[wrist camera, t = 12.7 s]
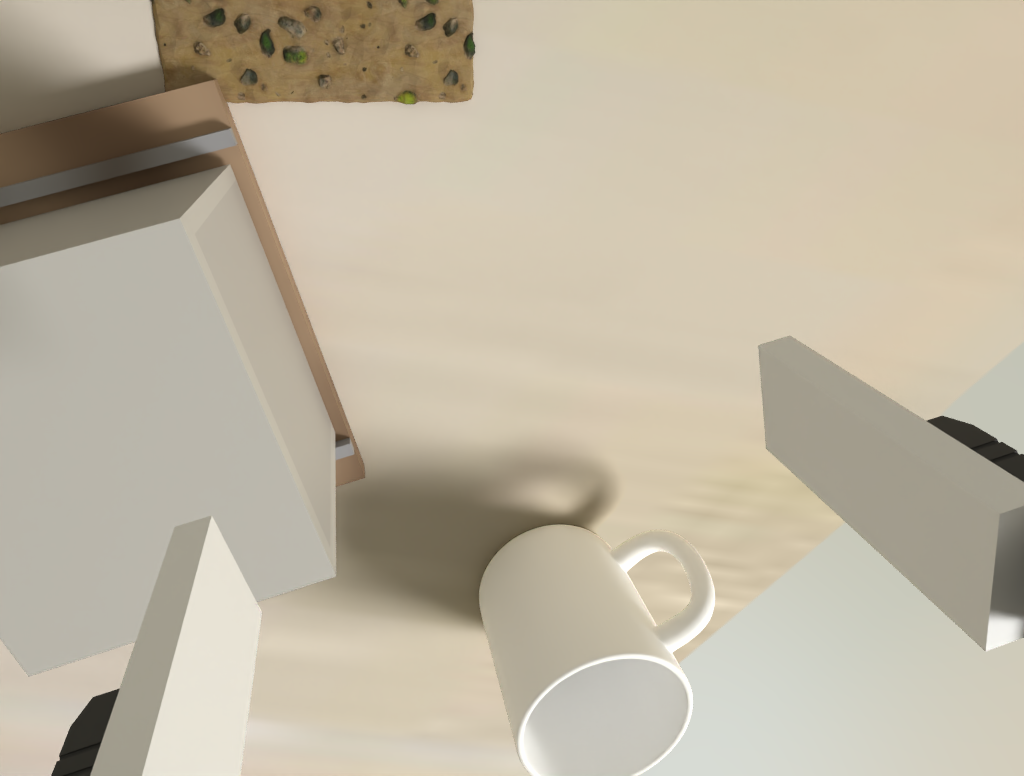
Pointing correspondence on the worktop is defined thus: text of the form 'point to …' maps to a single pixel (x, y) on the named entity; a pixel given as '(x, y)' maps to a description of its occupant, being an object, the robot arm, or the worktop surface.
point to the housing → (149, 413)
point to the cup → (589, 650)
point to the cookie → (319, 49)
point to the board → (149, 160)
